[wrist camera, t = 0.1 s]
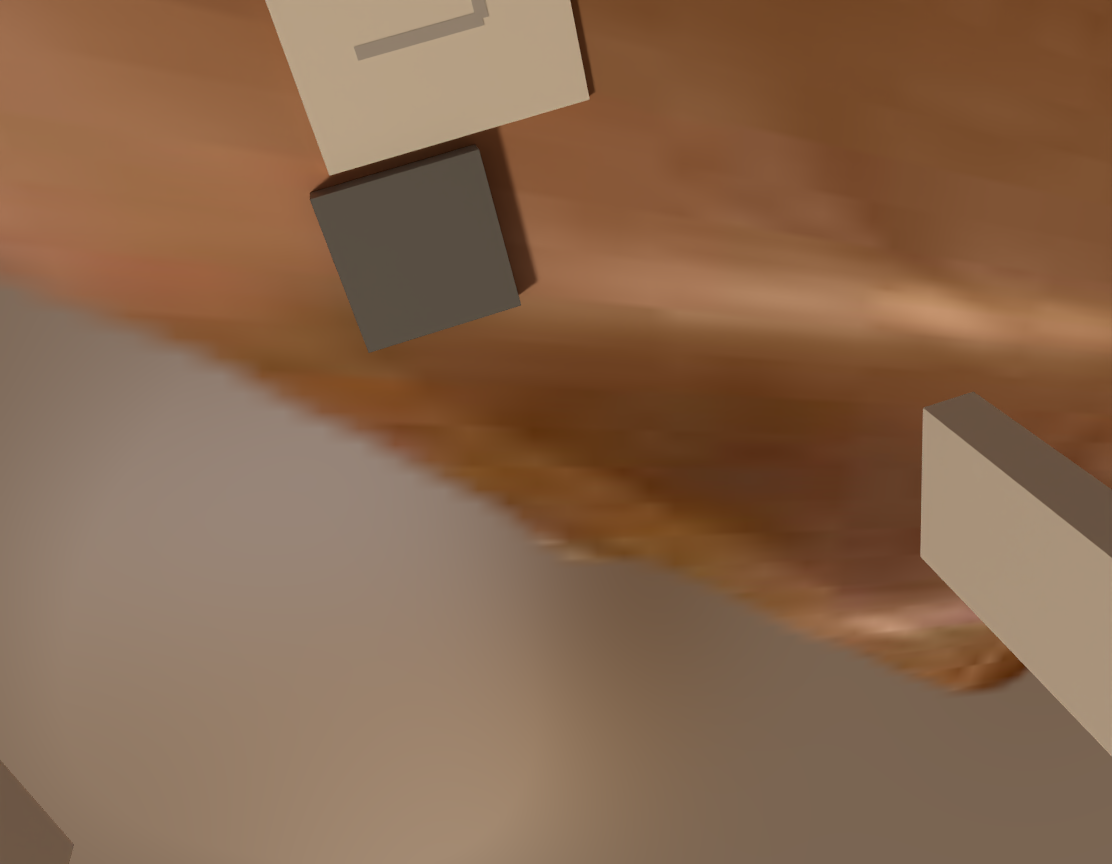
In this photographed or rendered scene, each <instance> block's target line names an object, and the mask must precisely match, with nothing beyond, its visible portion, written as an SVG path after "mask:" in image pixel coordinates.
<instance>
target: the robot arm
mask: <svg viewBox="0 0 1112 864" xmlns="http://www.w3.org/2000/svg"><path fill="white" fill-rule="evenodd" d="M921 558H922V559H923V560H924V561H925V562H926V563H927V564H928V565H929V566H930V567H931V568H932V569H933V570H934V571H935V572H936V573H937V574H938V575H939V576H940V577H941V579H942V580H943V581H944V582H945V583H946V584H947V585H948V586H949V587H950V588H951V589H952V590H953V591H954V592H955V593H956V594H957V595H958V596H959V597H960V598H961V599H962V600H963V601H964V603H965V604H966V605H967V606H968V607H969V608H970V609H971V610H972V611H973V612H974V613H975V614H976V615H977V616H978V617H979V618H980V619H981V620H982V621H983V622H984V623H985V624H986V625H987V627H988V628H989V629H990V630H991V631H992V632H993V633H994V634H995V635H996V636H997V637H998V638H999V639H1000V640H1001V641H1002V642H1003V643H1004V644H1005V645H1006V646H1007V647H1008V648H1009V649H1010V650H1011V652H1012V653H1013V654H1014V655H1015V656H1016V657H1017V658H1018V659H1019V660H1020V661H1021V662H1022V663H1023V664H1024V665H1025V666H1026V667H1027V668H1028V669H1029V670H1030V671H1031V672H1032V673H1033V674H1034V676H1035V677H1036V678H1037V679H1039V681H1040V682H1041V683H1042V684H1043V685H1044V686H1045V687H1046V688H1047V689H1048V690H1049V691H1050V692H1051V693H1052V694H1053V695H1054V696H1055V697H1056V698H1057V699H1058V701H1059V702H1060V703H1061V704H1062V705H1063V706H1064V707H1065V708H1066V709H1067V710H1068V711H1069V712H1070V713H1071V714H1072V715H1073V716H1074V717H1075V718H1076V719H1077V720H1078V721H1079V722H1080V724H1082V726H1084V727H1085V729H1086V730H1087V731H1088V732H1089V733H1090V734H1091V735H1092V736H1093V737H1094V738H1095V739H1096V740H1097V741H1098V742H1099V743H1100V744H1101V745H1102V746H1103V747H1104V749H1106V751H1107V752H1108V753H1109V754H1110V755H1111V756H1112V490H1111V489H1110V488H1109V487H1107V486H1106V485H1104V484H1103V483H1102V482H1100V481H1099V480H1097V479H1096V478H1094V477H1093V476H1092V475H1090V474H1089V473H1087V472H1086V471H1085V470H1083V469H1082V468H1080V467H1079V466H1078V465H1076V464H1075V463H1073V462H1072V461H1070V460H1069V459H1068V458H1066V457H1065V456H1063V455H1062V454H1061V453H1059V452H1058V451H1056V450H1055V449H1054V448H1052V447H1051V446H1049V445H1048V444H1047V443H1045V442H1044V441H1042V440H1041V439H1039V438H1038V437H1037V436H1035V435H1034V434H1032V433H1031V432H1030V431H1028V430H1027V429H1025V428H1024V427H1023V426H1021V425H1020V424H1018V423H1017V422H1015V421H1014V420H1013V419H1011V418H1010V417H1008V416H1007V415H1006V414H1004V413H1003V412H1001V411H1000V410H999V409H997V408H996V407H994V406H993V405H992V404H990V403H989V402H987V401H986V400H984V399H983V398H982V397H980V396H979V395H977V394H976V393H975V392H971V393H968V394H965V395H962V396H959V397H955V398H952V399H949V400H946V401H943V402H940V403H937V404H934V405H931V406H928V407H924V408H923V444H922V502H921ZM73 846H74V844H73V843H72V842H71V841H70V839H69V838H68V837H67V836H66V835H65V834H64V832H63V831H62V830H61V829H60V828H59V827H58V826H57V825H56V823H55V822H54V821H53V820H52V819H51V818H50V816H49V815H48V814H47V813H46V812H45V811H44V810H43V808H42V807H41V806H40V805H39V804H38V803H37V802H36V800H35V799H34V798H33V797H32V796H31V795H30V794H29V792H28V791H27V790H26V789H25V788H24V787H23V786H22V784H21V783H20V782H19V781H18V780H17V779H16V777H15V776H14V775H13V774H12V773H11V772H10V771H9V769H8V768H7V767H6V766H5V765H4V764H3V763H2V762H1V760H0V864H69V861H70V858H71V854H72V850H73Z"/></svg>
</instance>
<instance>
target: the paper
mask: <svg viewBox="0 0 1112 864" xmlns="http://www.w3.org/2000/svg"><path fill="white" fill-rule="evenodd" d="M265 1H266V4H267V6H268V9H269V12H270V14H271V17H272V20H273V23H274V25H275V28H276V31H277V34H278V36H279V39H280V42H281V44H282V47H283V50H284V53H285V55H286V58H287V61H288V64H289V66H290V69H291V72H292V74H293V77H294V80H295V83H296V85H297V88H298V91H299V94H300V96H301V99H302V102H303V104H304V107H305V110H306V113H307V115H308V118H309V121H310V124H311V126H312V129H313V132H314V134H315V137H316V140H317V143H318V145H319V148H320V151H321V154H322V156H323V159H324V162H325V164H326V167H327V170H328V173H329V175H333V174H337V173H340V172H344V171H347V170H351V169H354V168H357V167H361V166H364V165H368V164H371V163H374V162H378V161H381V160H385V159H388V158H391V157H395V156H398V155H402V154H405V153H408V152H412V151H415V150H419V149H422V148H426V147H429V146H432V145H436V144H439V143H443V142H446V141H449V140H453V139H456V138H460V137H463V136H466V135H470V134H473V133H477V132H480V131H483V130H487V129H490V128H494V127H497V126H501V125H504V124H507V123H511V122H514V121H518V120H521V119H524V118H528V117H531V116H535V115H538V114H541V113H545V112H548V111H552V110H555V109H558V108H562V107H565V106H569V105H572V104H575V103H579V102H582V101H586V100H589V94H588V89H587V84H586V79H585V73H584V68H583V63H582V58H581V53H580V48H579V43H578V38H577V32H576V27H575V22H574V17H573V12H572V7H571V2H570V0H265Z"/></svg>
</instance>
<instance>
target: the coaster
mask: <svg viewBox="0 0 1112 864" xmlns="http://www.w3.org/2000/svg"><path fill="white" fill-rule="evenodd" d="M310 201H311V204H312V206H313V209H314V211H315V214H316V217H317V219H318V222H319V224H320V227H321V230H322V232H323V235H324V237H325V240H326V243H327V245H328V248H329V250H330V253H331V256H332V258H333V261H334V263H335V266H336V269H337V271H338V274H339V276H340V279H341V282H342V284H343V287H344V289H345V292H346V295H347V297H348V300H349V302H350V305H351V308H352V310H353V313H354V315H355V318H356V321H357V323H358V326H359V328H360V331H361V334H362V336H363V339H364V341H365V344H366V347H367V349H368V352H369V353H370V352H373V351H376V350H379V349H383V348H386V347H389V346H392V345H395V344H399V343H402V342H405V341H408V340H411V339H415V338H418V337H421V336H424V335H427V334H431V333H434V332H437V331H440V330H443V329H447V328H450V327H453V326H456V325H459V324H463V323H466V322H469V321H472V320H476V319H479V318H482V317H485V316H488V315H492V314H495V313H498V312H501V311H504V310H508V309H511V308H514V307H517V306H520V305H521V303H520V300H519V296H518V292H517V289H516V285H515V281H514V277H513V274H512V270H511V266H510V263H509V259H508V255H507V251H506V248H505V244H504V240H503V237H502V233H501V229H500V225H499V222H498V218H497V214H496V211H495V207H494V203H493V199H492V196H491V192H490V188H489V185H488V181H487V177H486V173H485V170H484V166H483V162H482V159H481V155H480V151H479V149H478V147H477V146H476V145H475V144H474V145H471V146H468V147H464V148H461V149H457V150H454V151H451V152H447V153H444V154H440V155H437V156H434V157H430V158H427V159H423V160H420V161H417V162H413V163H410V164H406V165H403V166H400V167H396V168H393V169H389V170H386V171H383V172H379V173H376V174H372V175H369V176H366V177H362V178H359V179H355V180H352V181H349V182H345V183H342V184H338V185H335V186H332V187H328V188H325V189H321V190H318V191H315V192H311V193H310Z"/></svg>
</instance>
